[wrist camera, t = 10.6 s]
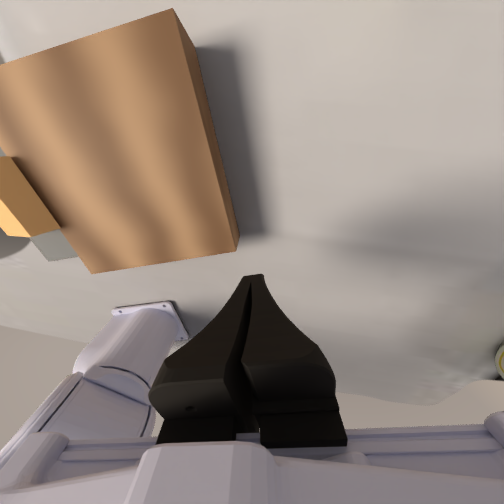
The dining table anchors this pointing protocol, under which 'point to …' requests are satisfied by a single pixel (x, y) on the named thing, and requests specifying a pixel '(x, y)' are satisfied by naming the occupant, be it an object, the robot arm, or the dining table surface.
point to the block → (21, 204)
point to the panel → (121, 145)
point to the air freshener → (500, 360)
